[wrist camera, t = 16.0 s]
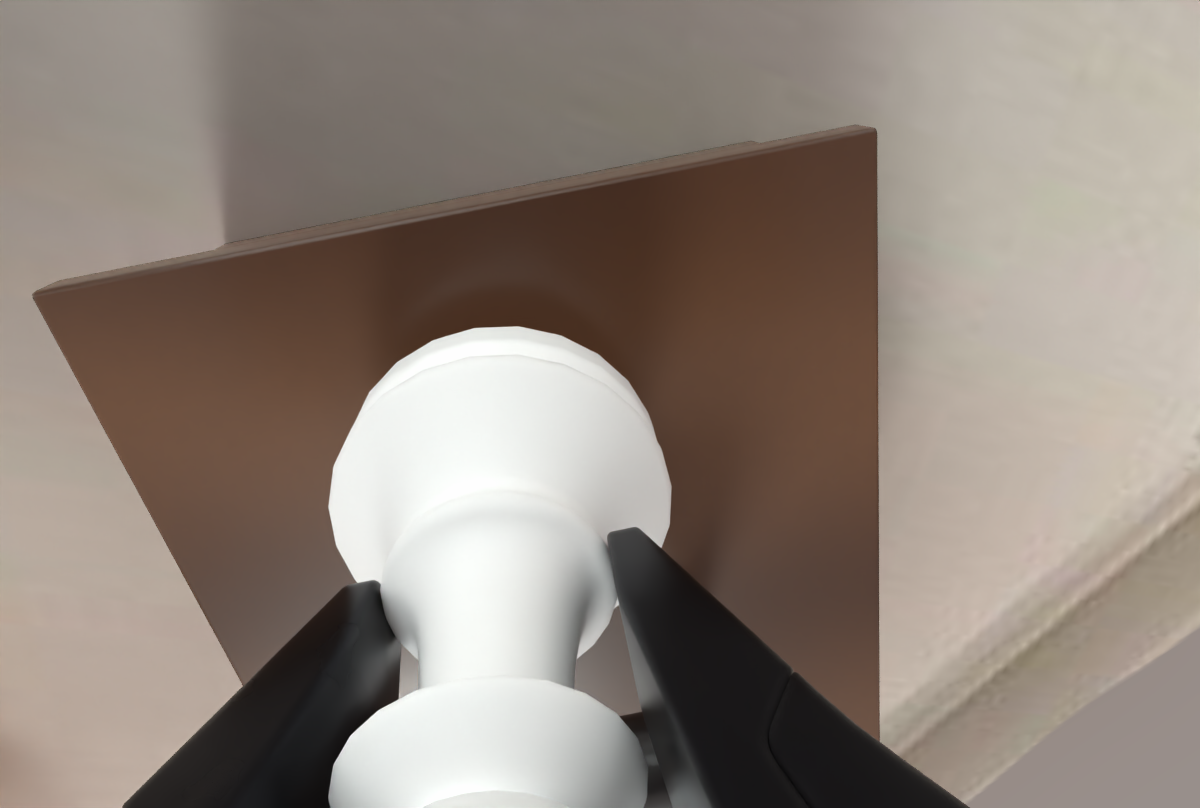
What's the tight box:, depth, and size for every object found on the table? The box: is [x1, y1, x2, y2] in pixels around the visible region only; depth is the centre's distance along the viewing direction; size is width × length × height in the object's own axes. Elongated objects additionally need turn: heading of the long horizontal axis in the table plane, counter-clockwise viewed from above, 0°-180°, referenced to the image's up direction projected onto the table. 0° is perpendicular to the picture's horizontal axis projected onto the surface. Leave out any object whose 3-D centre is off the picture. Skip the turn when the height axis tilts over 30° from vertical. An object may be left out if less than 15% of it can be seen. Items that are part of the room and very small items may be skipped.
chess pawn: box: [328, 326, 672, 808], centre depth 8 cm, size 5×5×9 cm
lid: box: [32, 125, 880, 808], centre depth 13 cm, size 16×14×5 cm
